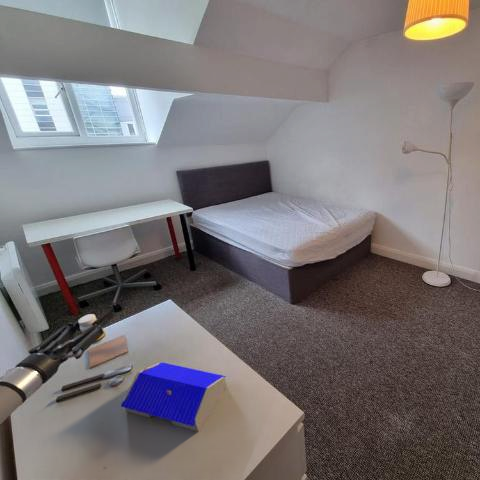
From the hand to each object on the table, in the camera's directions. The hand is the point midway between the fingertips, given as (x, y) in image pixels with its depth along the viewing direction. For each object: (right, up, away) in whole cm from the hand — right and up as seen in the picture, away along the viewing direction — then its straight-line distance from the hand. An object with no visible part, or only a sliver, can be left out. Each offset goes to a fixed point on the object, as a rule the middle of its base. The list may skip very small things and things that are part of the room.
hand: (102, 313), depth 86 cm
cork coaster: (-1, -14, +3) cm, 14 cm away
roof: (+31, -20, -13) cm, 39 cm away
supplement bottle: (0, -8, -2) cm, 8 cm away
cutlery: (+4, -19, -8) cm, 21 cm away
